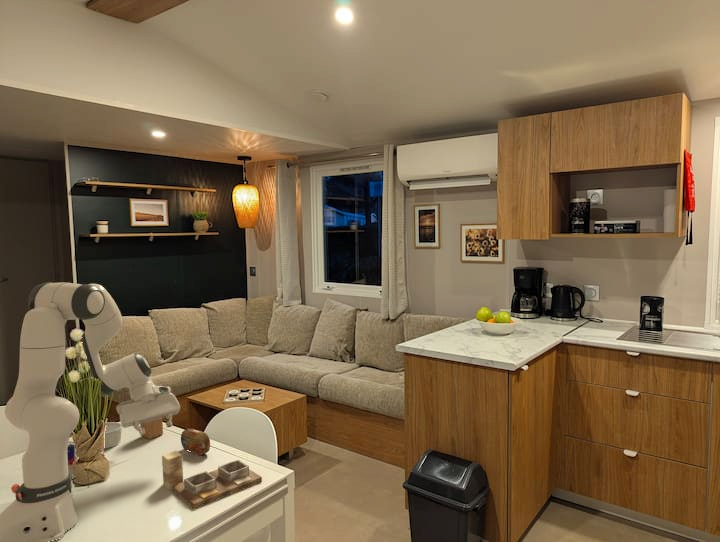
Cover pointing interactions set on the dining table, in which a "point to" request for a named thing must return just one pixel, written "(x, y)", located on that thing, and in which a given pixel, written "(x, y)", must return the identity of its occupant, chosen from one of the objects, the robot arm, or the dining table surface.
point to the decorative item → (152, 428)
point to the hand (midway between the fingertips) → (156, 430)
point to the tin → (195, 441)
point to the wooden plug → (172, 469)
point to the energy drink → (71, 457)
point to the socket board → (216, 483)
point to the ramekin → (112, 434)
